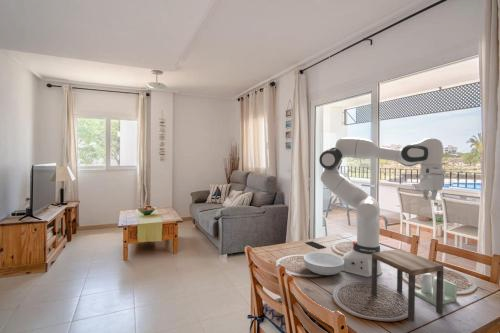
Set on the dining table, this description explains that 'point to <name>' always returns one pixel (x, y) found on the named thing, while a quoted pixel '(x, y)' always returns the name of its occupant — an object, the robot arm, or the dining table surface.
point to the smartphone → (315, 245)
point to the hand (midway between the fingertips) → (429, 199)
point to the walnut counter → (412, 267)
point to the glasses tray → (447, 294)
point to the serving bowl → (323, 263)
